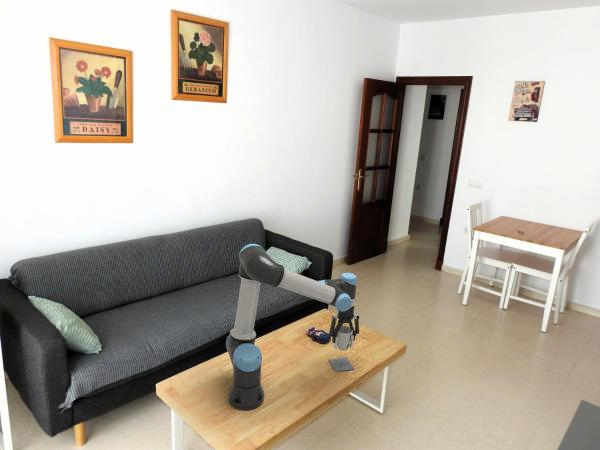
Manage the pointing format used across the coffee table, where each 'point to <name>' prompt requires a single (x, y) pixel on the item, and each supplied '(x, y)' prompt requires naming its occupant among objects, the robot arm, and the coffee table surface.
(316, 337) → the figurine
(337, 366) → the coaster
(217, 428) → the coffee table surface
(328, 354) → the coffee table surface
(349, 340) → the cup
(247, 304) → the robot arm
